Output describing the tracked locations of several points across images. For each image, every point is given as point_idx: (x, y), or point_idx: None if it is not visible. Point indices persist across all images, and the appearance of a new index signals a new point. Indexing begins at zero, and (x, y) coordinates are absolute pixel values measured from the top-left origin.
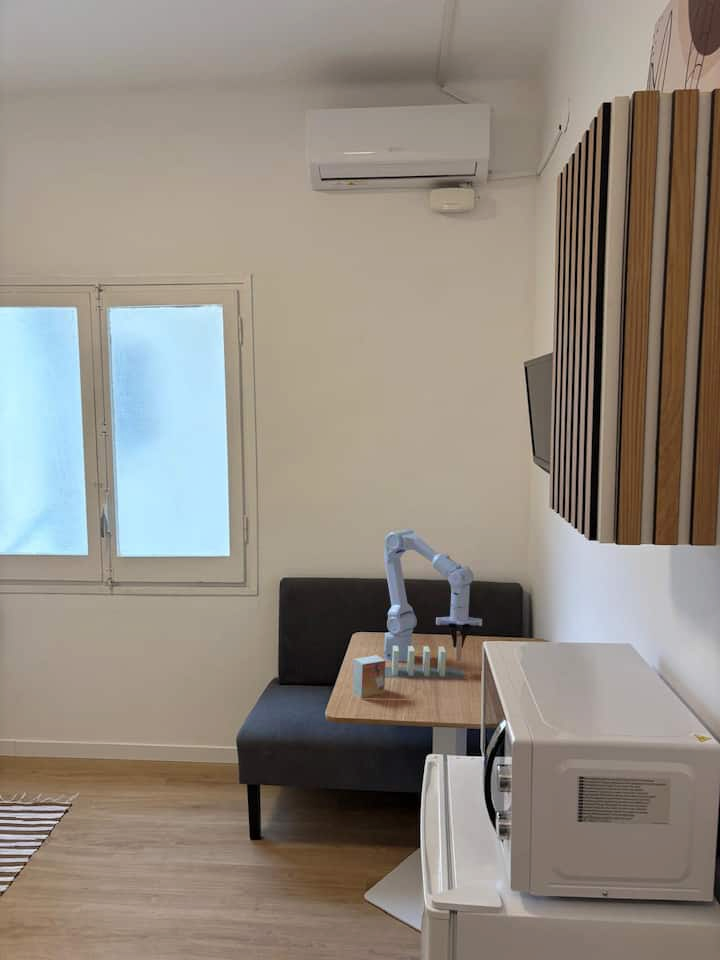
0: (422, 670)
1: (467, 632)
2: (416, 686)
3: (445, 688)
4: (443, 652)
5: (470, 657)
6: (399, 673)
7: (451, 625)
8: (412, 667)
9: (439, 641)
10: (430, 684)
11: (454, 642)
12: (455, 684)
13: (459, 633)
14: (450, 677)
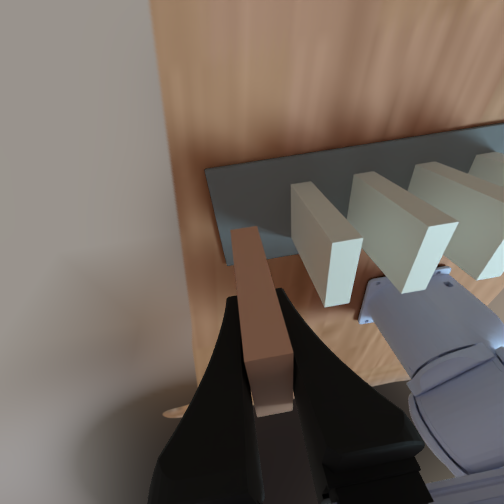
0: None
1: (190, 421)
2: (447, 35)
3: (305, 29)
4: (345, 238)
5: (200, 340)
6: None
7: (389, 482)
8: (448, 174)
9: None
10: (369, 82)
11: (292, 310)
12: (249, 106)
13: (262, 397)
14: (269, 175)
